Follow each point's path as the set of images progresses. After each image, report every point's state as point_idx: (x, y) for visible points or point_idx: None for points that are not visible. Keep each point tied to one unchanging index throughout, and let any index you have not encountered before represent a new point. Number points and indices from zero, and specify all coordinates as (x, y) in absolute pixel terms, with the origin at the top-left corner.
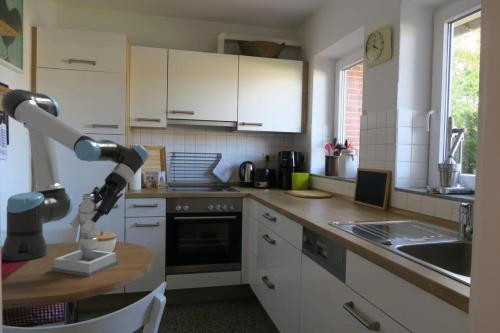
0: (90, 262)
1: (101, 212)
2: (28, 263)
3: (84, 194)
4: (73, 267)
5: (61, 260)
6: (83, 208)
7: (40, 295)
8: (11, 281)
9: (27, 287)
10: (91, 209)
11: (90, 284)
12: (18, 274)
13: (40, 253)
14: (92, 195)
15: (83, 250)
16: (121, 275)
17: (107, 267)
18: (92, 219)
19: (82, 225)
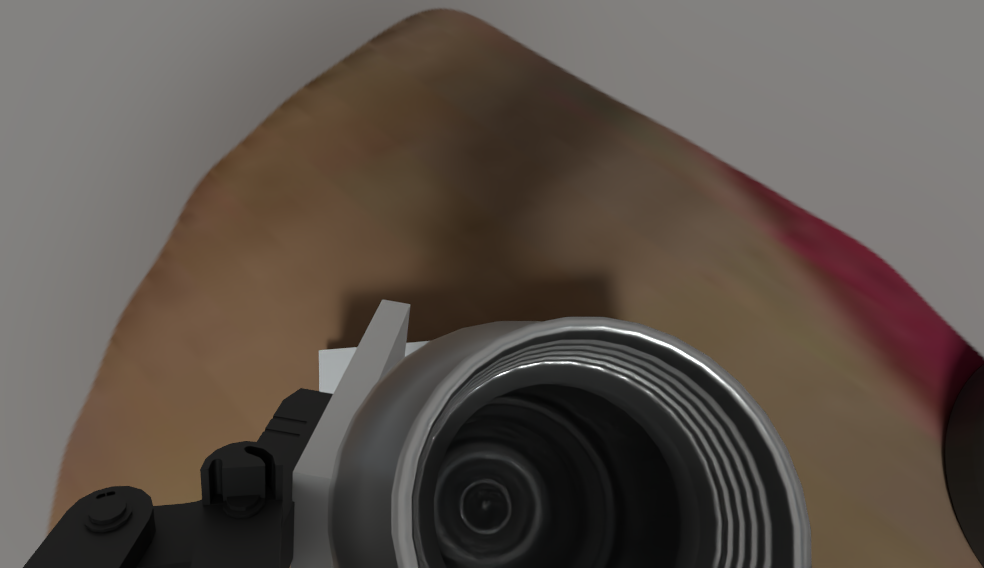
0: (332, 378)
1: (180, 511)
2: (873, 370)
3: (783, 496)
4: None
5: None
6: (486, 326)
7: (355, 72)
8: (639, 131)
9: (495, 110)
10: (356, 414)
11: (227, 267)
12: (714, 210)
13: (974, 506)
14: (396, 512)
15: (465, 432)
16: (136, 478)
17: None
18: (318, 396)
19: (498, 399)
